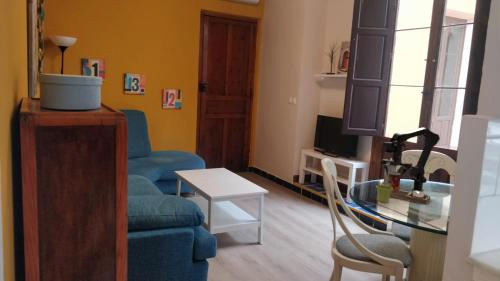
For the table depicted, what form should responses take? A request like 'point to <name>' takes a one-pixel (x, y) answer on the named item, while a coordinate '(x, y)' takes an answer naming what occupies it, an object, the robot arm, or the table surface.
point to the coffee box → (386, 178)
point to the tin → (418, 194)
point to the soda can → (394, 180)
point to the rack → (408, 196)
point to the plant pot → (383, 193)
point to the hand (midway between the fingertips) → (394, 176)
